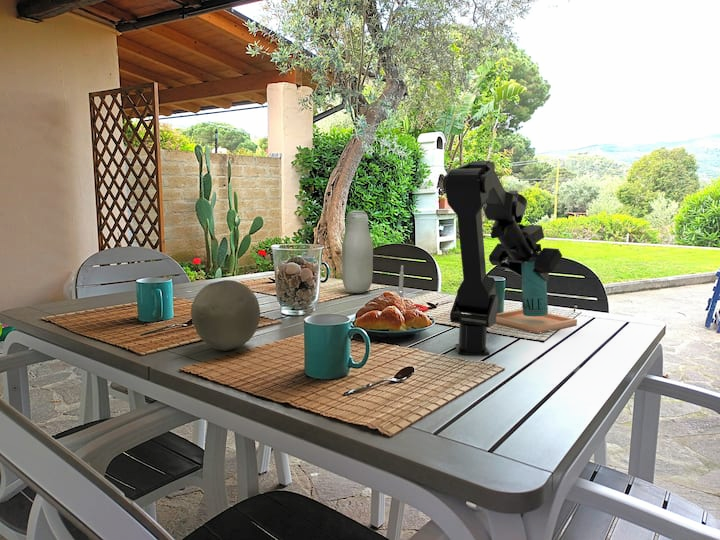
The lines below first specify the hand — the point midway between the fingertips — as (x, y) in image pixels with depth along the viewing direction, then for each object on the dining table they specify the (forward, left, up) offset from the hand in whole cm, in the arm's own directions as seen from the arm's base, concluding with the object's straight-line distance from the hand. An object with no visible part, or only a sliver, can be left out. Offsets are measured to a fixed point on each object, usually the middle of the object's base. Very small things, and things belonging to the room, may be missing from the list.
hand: (536, 278), depth 136 cm
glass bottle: (+36, +50, -12) cm, 63 cm away
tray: (-1, +1, -12) cm, 12 cm away
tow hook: (+12, +32, -12) cm, 36 cm away
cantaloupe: (-33, +72, -12) cm, 80 cm away
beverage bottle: (-2, 0, -11) cm, 11 cm away
